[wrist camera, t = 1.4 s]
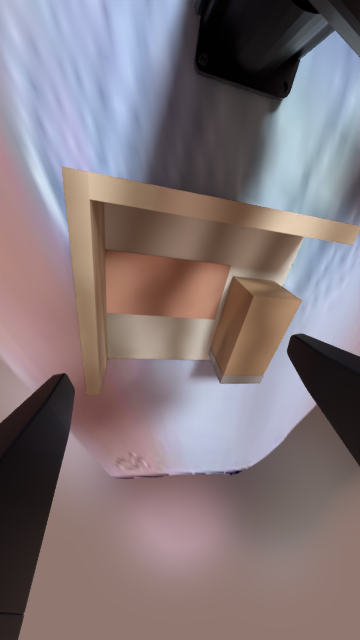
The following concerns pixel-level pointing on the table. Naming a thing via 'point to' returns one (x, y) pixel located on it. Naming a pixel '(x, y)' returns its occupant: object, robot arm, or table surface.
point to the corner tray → (168, 264)
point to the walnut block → (250, 329)
